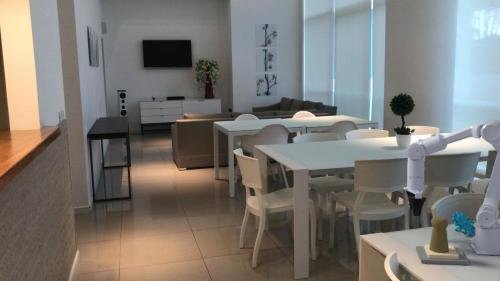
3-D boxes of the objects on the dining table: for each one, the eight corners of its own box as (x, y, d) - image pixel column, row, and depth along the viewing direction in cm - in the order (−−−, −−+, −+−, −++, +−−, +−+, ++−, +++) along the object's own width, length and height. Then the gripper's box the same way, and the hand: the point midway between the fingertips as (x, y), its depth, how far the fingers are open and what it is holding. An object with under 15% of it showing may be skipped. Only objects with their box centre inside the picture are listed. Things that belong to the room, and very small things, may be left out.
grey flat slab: (458, 250, 161) (459, 243, 161) (468, 265, 150) (468, 257, 149) (415, 249, 164) (415, 242, 164) (421, 263, 152) (421, 255, 152)
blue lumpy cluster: (463, 234, 172) (450, 210, 178) (452, 242, 176) (439, 218, 182) (484, 233, 177) (470, 210, 183) (473, 241, 181) (460, 218, 187)
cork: (426, 246, 159) (426, 215, 158) (443, 245, 160) (444, 214, 158) (434, 253, 153) (435, 220, 152) (452, 252, 154) (453, 219, 152)
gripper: (401, 171, 177) (401, 206, 179) (406, 180, 163) (406, 218, 165) (421, 171, 176) (420, 207, 178) (428, 180, 162) (427, 219, 163)
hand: (415, 212), depth 171 cm, fingers open, 7 cm apart
